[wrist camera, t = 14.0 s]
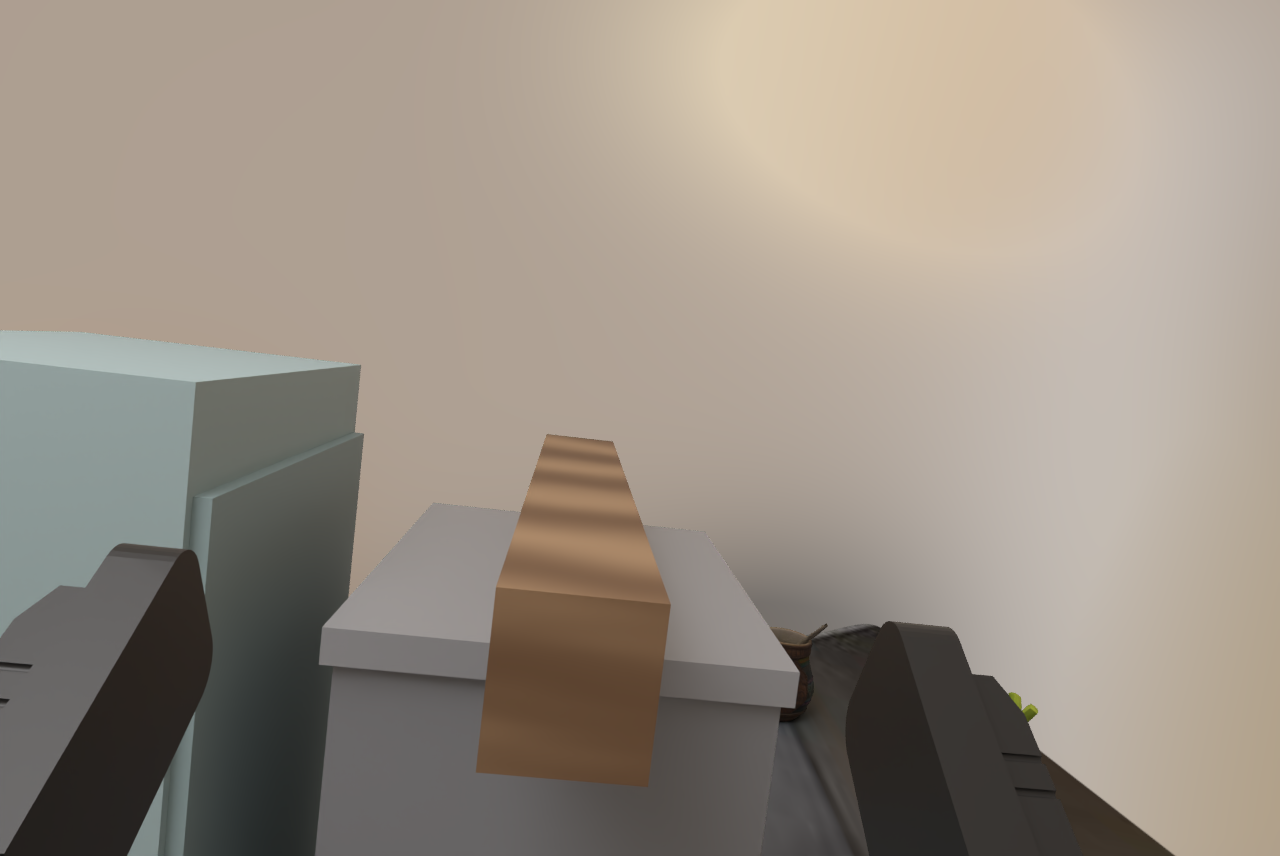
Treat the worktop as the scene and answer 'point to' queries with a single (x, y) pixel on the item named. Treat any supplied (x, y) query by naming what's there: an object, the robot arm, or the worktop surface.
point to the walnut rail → (575, 628)
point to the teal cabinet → (197, 547)
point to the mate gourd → (798, 667)
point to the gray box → (453, 702)
